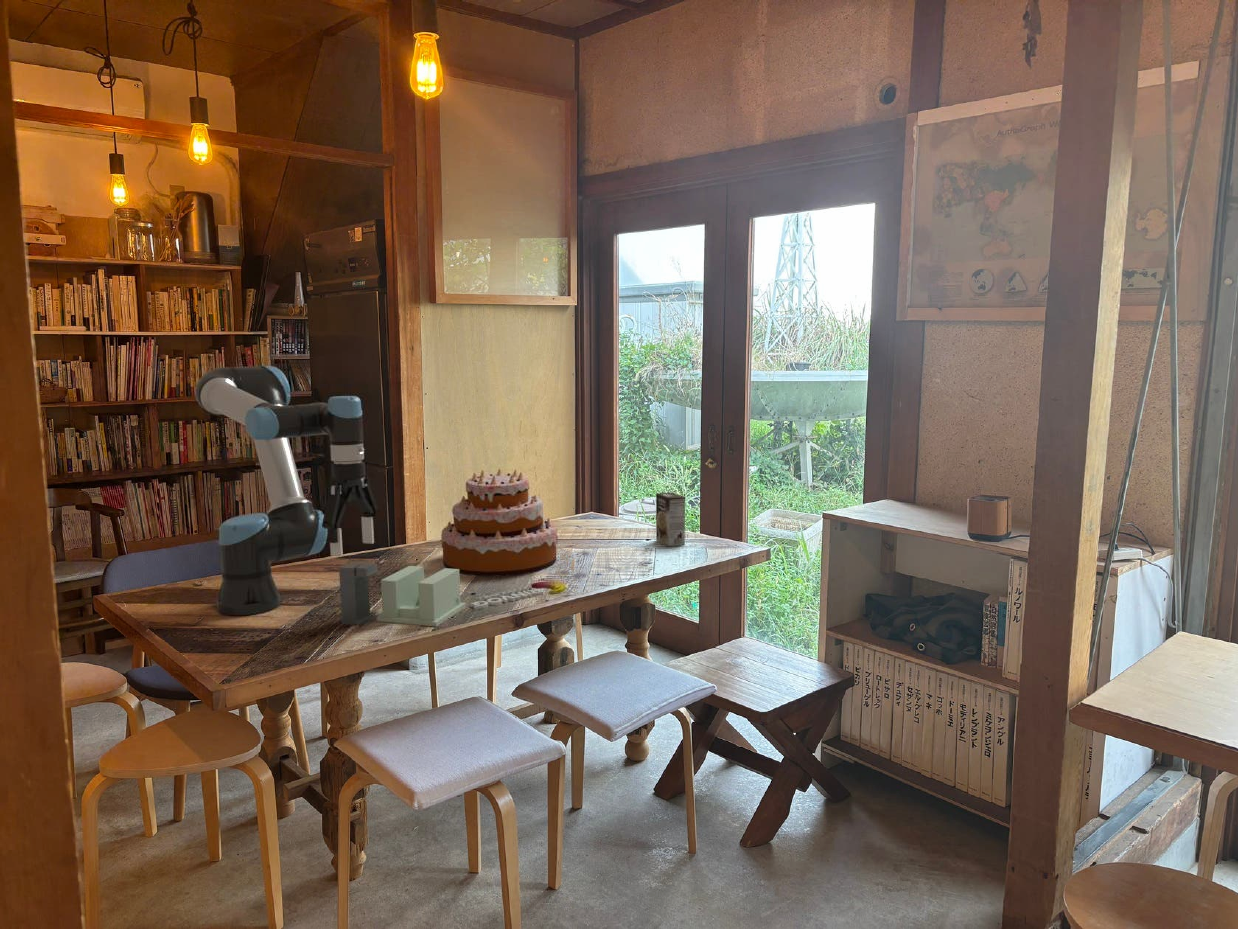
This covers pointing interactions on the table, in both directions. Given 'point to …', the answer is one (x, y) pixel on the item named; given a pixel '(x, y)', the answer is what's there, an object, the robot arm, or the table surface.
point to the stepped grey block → (355, 591)
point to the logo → (518, 594)
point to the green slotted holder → (420, 596)
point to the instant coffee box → (670, 519)
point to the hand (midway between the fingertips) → (353, 549)
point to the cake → (499, 529)
